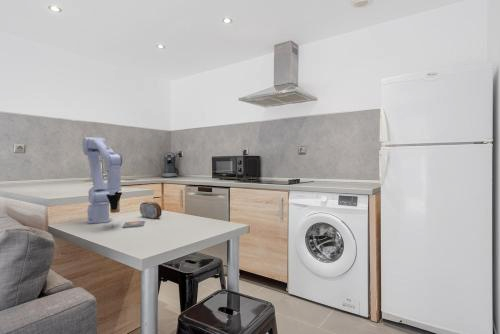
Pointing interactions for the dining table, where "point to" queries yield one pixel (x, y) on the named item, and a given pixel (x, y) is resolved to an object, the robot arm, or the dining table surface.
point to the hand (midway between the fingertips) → (115, 208)
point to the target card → (133, 224)
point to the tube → (116, 209)
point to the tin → (150, 210)
